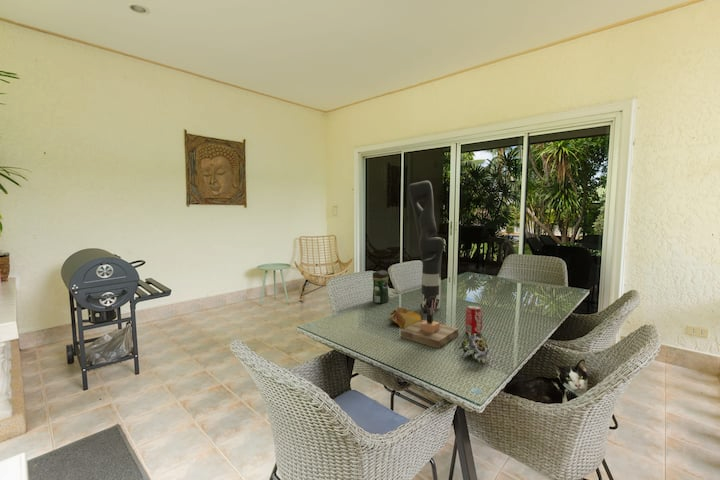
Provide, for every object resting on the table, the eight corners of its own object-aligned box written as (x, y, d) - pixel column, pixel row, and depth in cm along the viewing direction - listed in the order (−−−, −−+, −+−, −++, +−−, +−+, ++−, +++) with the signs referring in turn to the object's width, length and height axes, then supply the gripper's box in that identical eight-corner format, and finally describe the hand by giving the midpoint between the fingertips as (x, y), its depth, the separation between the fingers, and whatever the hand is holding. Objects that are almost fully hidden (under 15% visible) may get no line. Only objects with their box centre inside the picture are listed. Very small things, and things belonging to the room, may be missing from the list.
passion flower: (481, 376, 124) (481, 359, 117) (453, 363, 130) (452, 346, 123) (492, 352, 130) (493, 334, 123) (465, 340, 136) (464, 322, 129)
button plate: (422, 325, 161) (422, 319, 161) (458, 335, 149) (458, 328, 149) (401, 337, 147) (401, 330, 147) (438, 348, 136) (438, 341, 135)
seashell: (425, 312, 169) (416, 316, 155) (422, 327, 169) (413, 332, 156) (394, 303, 176) (383, 306, 163) (392, 317, 176) (380, 322, 163)
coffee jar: (380, 298, 208) (380, 268, 206) (390, 301, 203) (390, 270, 201) (370, 302, 201) (370, 271, 199) (380, 304, 196) (380, 272, 194)
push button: (427, 327, 152) (427, 319, 152) (439, 330, 148) (439, 322, 148) (420, 330, 148) (420, 323, 147) (432, 334, 144) (432, 326, 144)
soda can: (483, 331, 153) (484, 306, 152) (479, 337, 147) (480, 310, 146) (467, 329, 157) (467, 303, 156) (463, 334, 151) (464, 307, 150)
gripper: (430, 279, 153) (429, 316, 155) (414, 284, 143) (414, 324, 145) (445, 282, 148) (444, 320, 150) (430, 287, 139) (429, 328, 140)
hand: (429, 322), depth 148 cm, fingers closed
